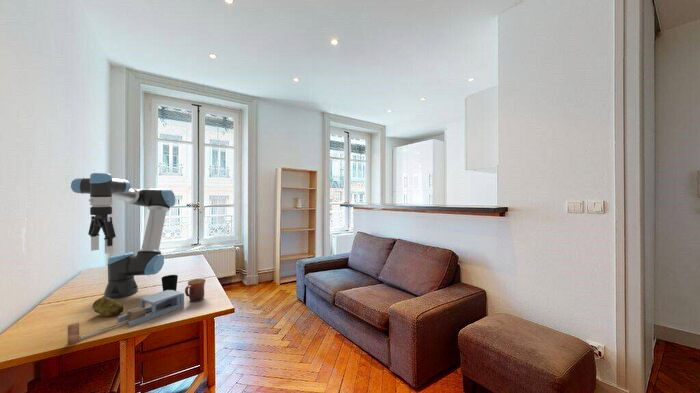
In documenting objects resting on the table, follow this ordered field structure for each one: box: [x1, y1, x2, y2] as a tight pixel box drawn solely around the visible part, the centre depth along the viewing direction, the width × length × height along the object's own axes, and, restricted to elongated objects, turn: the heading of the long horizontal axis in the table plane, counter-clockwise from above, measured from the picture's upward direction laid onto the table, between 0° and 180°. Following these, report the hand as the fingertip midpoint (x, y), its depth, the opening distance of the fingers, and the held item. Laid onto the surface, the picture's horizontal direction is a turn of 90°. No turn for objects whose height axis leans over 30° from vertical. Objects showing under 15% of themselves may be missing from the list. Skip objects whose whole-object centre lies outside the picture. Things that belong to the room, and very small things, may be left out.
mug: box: [184, 278, 206, 302], centre depth 146 cm, size 12×9×10 cm
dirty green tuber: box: [92, 296, 124, 317], centre depth 129 cm, size 8×13×8 cm, turn 68°
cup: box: [161, 274, 179, 291], centre depth 150 cm, size 8×8×12 cm
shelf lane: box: [117, 290, 185, 328], centre depth 131 cm, size 11×24×8 cm, turn 153°
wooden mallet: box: [67, 306, 146, 346], centre depth 115 cm, size 5×25×7 cm, turn 151°
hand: (101, 251), depth 125 cm, fingers open, 13 cm apart
